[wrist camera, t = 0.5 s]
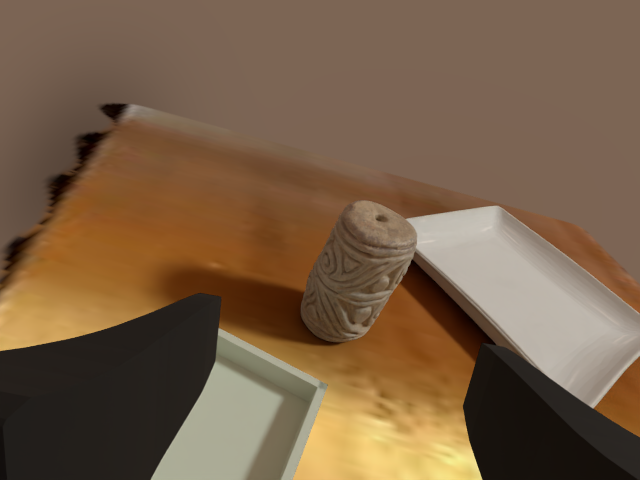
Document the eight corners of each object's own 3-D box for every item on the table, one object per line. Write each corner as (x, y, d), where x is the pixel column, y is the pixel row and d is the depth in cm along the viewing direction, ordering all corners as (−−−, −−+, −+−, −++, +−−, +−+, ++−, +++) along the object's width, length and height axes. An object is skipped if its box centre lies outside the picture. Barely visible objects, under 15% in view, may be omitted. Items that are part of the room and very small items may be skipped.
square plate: (373, 243, 53) (386, 218, 51) (486, 221, 71) (500, 202, 69) (560, 436, 39) (590, 413, 37) (645, 349, 56) (668, 330, 54)
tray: (245, 588, 22) (258, 572, 21) (61, 485, 23) (61, 462, 21) (316, 404, 32) (327, 384, 31) (186, 336, 33) (192, 314, 31)
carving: (278, 305, 39) (324, 195, 32) (342, 291, 43) (394, 193, 37) (313, 361, 35) (374, 251, 29) (379, 340, 40) (444, 241, 33)
